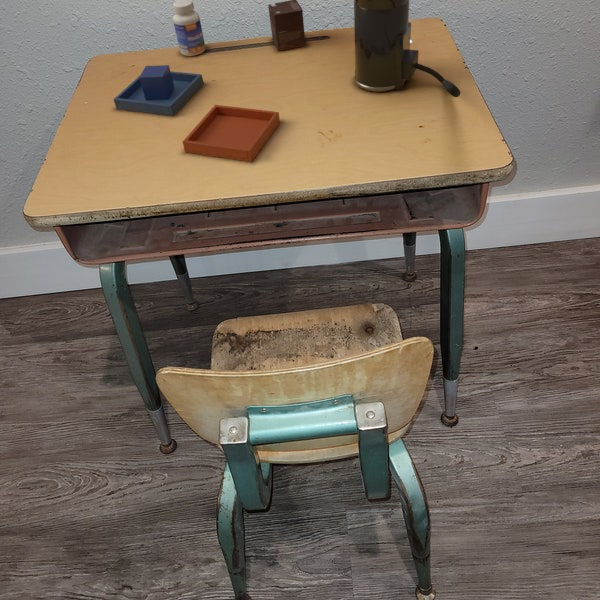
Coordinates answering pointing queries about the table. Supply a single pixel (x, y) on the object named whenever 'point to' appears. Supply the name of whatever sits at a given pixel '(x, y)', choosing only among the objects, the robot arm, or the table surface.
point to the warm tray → (232, 132)
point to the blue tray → (182, 92)
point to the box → (287, 24)
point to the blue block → (157, 82)
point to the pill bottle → (188, 28)
